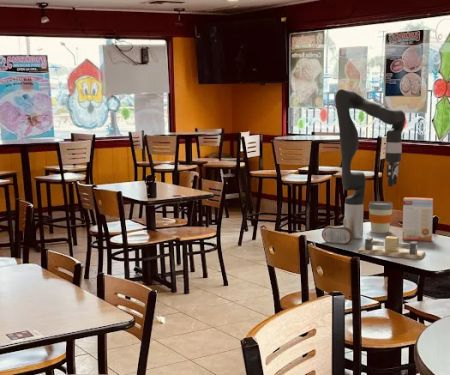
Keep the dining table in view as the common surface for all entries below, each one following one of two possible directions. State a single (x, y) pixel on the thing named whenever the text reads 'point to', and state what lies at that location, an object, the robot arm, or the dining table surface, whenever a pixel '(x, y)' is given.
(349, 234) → the tin
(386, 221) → the reusable coffee cup
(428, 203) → the cracker box
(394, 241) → the coupler
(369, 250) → the shaft rig
